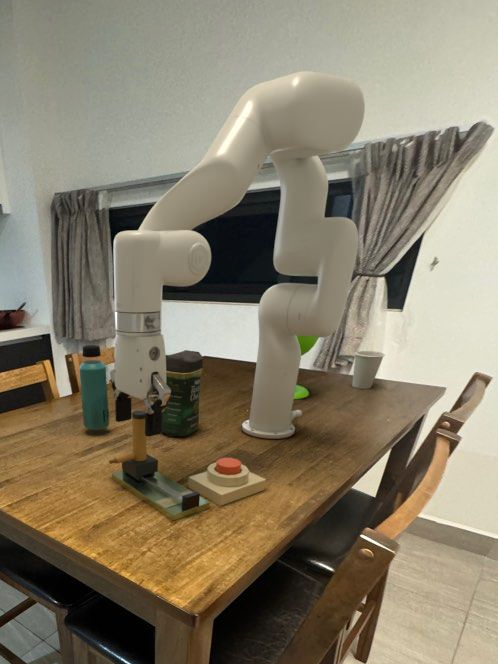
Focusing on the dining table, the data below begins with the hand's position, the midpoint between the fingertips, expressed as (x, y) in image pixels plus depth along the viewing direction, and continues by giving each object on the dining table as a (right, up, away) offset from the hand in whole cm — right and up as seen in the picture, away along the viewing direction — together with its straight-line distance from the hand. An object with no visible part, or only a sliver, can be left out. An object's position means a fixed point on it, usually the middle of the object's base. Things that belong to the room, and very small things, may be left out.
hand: (137, 427), depth 81 cm
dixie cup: (+73, +29, +63) cm, 101 cm away
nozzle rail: (+4, -12, +2) cm, 12 cm away
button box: (+17, -11, +3) cm, 20 cm away
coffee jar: (+11, +6, +30) cm, 32 cm away
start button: (+17, -8, +1) cm, 18 cm away
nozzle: (-1, -8, +4) cm, 10 cm away
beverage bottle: (-10, +6, +31) cm, 33 cm away
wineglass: (+46, +26, +58) cm, 78 cm away
